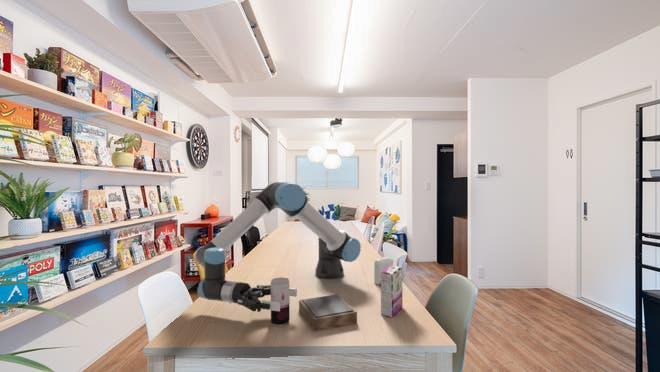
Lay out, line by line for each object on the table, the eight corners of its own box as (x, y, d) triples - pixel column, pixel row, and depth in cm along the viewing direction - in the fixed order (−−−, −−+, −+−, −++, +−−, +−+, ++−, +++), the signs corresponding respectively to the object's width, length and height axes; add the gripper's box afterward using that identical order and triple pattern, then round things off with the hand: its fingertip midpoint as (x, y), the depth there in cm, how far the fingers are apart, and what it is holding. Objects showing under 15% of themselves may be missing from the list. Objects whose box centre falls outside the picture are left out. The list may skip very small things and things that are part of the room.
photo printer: (388, 279, 159) (388, 255, 159) (394, 281, 155) (394, 256, 155) (372, 283, 153) (373, 258, 153) (378, 285, 150) (379, 259, 149)
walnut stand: (336, 304, 127) (336, 293, 127) (357, 323, 111) (357, 310, 111) (299, 310, 121) (299, 299, 121) (314, 331, 105) (314, 318, 105)
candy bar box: (390, 304, 127) (391, 264, 126) (402, 307, 124) (403, 266, 124) (379, 315, 117) (380, 271, 117) (392, 318, 115) (392, 273, 114)
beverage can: (289, 317, 115) (289, 276, 115) (289, 325, 109) (289, 282, 109) (271, 318, 114) (270, 277, 114) (270, 327, 108) (270, 283, 107)
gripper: (254, 291, 129) (302, 297, 122) (214, 316, 105) (271, 325, 99) (254, 272, 129) (302, 278, 122) (214, 294, 105) (271, 302, 98)
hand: (288, 299), depth 110 cm, fingers open, 13 cm apart
